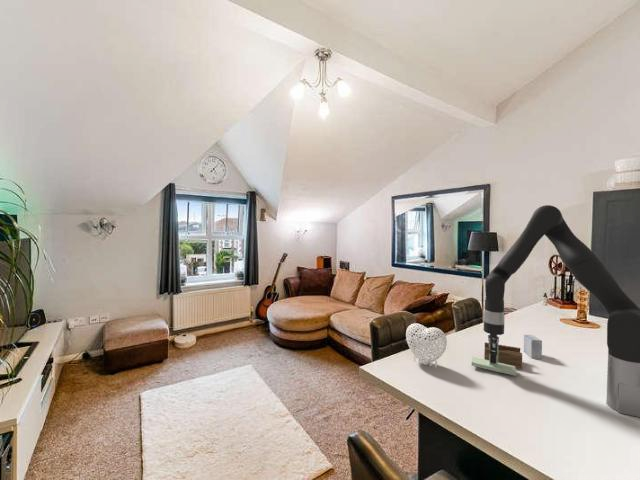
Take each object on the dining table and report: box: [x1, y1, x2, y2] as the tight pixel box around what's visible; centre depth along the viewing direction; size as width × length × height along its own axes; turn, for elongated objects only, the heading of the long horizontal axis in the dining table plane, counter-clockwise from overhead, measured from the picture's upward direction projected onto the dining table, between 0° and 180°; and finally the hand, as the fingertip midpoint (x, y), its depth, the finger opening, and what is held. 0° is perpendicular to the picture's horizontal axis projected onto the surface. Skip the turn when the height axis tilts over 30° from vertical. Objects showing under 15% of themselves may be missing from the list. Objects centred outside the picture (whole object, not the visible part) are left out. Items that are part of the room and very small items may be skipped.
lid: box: [471, 350, 518, 377], centre depth 126 cm, size 6×16×7 cm, turn 61°
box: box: [483, 341, 523, 370], centre depth 135 cm, size 9×14×6 cm, turn 61°
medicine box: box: [523, 334, 543, 360], centre depth 142 cm, size 8×4×9 cm, turn 168°
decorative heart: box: [405, 322, 448, 369], centre depth 131 cm, size 18×11×17 cm, turn 45°
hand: (492, 361), depth 126 cm, fingers closed on lid, 2 cm apart
